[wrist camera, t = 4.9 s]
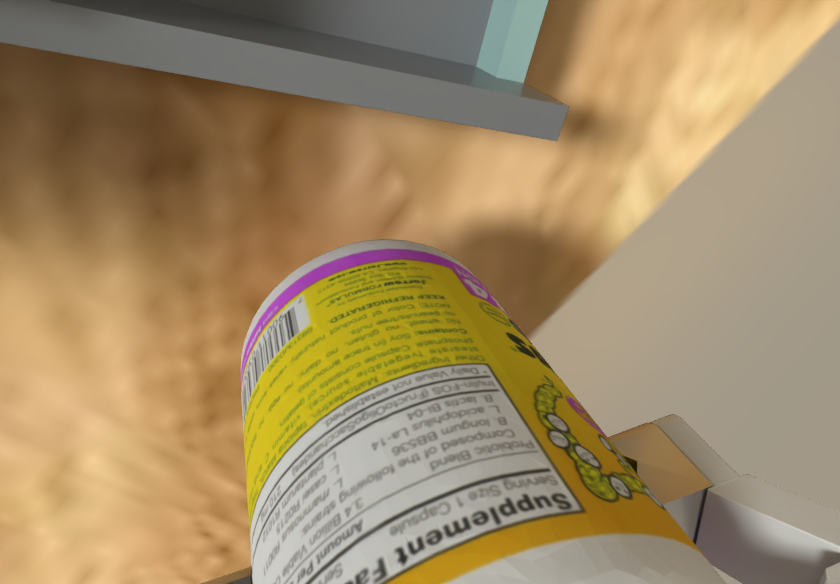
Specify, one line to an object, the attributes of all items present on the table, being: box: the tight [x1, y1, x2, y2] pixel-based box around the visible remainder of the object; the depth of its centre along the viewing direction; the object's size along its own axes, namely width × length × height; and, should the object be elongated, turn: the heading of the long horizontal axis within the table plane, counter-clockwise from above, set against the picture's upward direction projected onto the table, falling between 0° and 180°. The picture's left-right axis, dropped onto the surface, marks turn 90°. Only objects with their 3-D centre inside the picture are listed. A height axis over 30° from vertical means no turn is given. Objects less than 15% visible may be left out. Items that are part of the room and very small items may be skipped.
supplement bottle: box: [241, 239, 726, 584], centre depth 10 cm, size 7×7×13 cm
